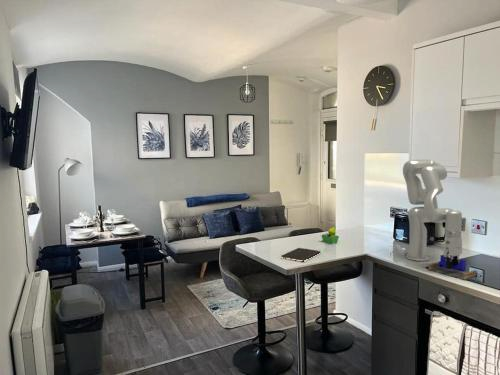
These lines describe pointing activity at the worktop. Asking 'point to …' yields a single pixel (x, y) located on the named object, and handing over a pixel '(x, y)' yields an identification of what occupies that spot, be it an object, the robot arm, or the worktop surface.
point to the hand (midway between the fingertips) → (452, 267)
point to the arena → (452, 272)
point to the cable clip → (459, 267)
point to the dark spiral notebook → (301, 254)
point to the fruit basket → (330, 236)
